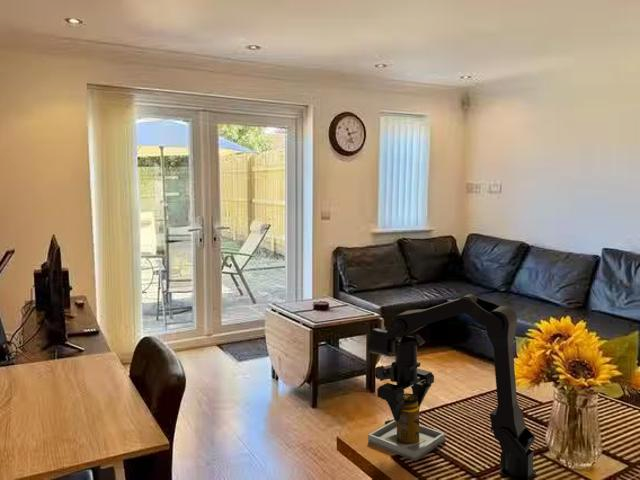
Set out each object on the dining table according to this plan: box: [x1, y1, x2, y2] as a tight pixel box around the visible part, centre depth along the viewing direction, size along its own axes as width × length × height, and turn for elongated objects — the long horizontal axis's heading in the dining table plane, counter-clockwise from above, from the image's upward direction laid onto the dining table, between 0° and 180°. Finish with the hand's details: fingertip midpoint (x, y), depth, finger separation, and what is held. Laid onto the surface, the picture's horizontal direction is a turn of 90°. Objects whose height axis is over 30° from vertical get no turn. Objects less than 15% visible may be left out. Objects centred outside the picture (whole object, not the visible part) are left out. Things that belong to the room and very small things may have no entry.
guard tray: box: [367, 419, 446, 462], centre depth 145 cm, size 15×14×2 cm
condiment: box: [385, 392, 426, 448], centre depth 144 cm, size 7×8×12 cm
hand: (406, 415), depth 145 cm, fingers open, 9 cm apart
